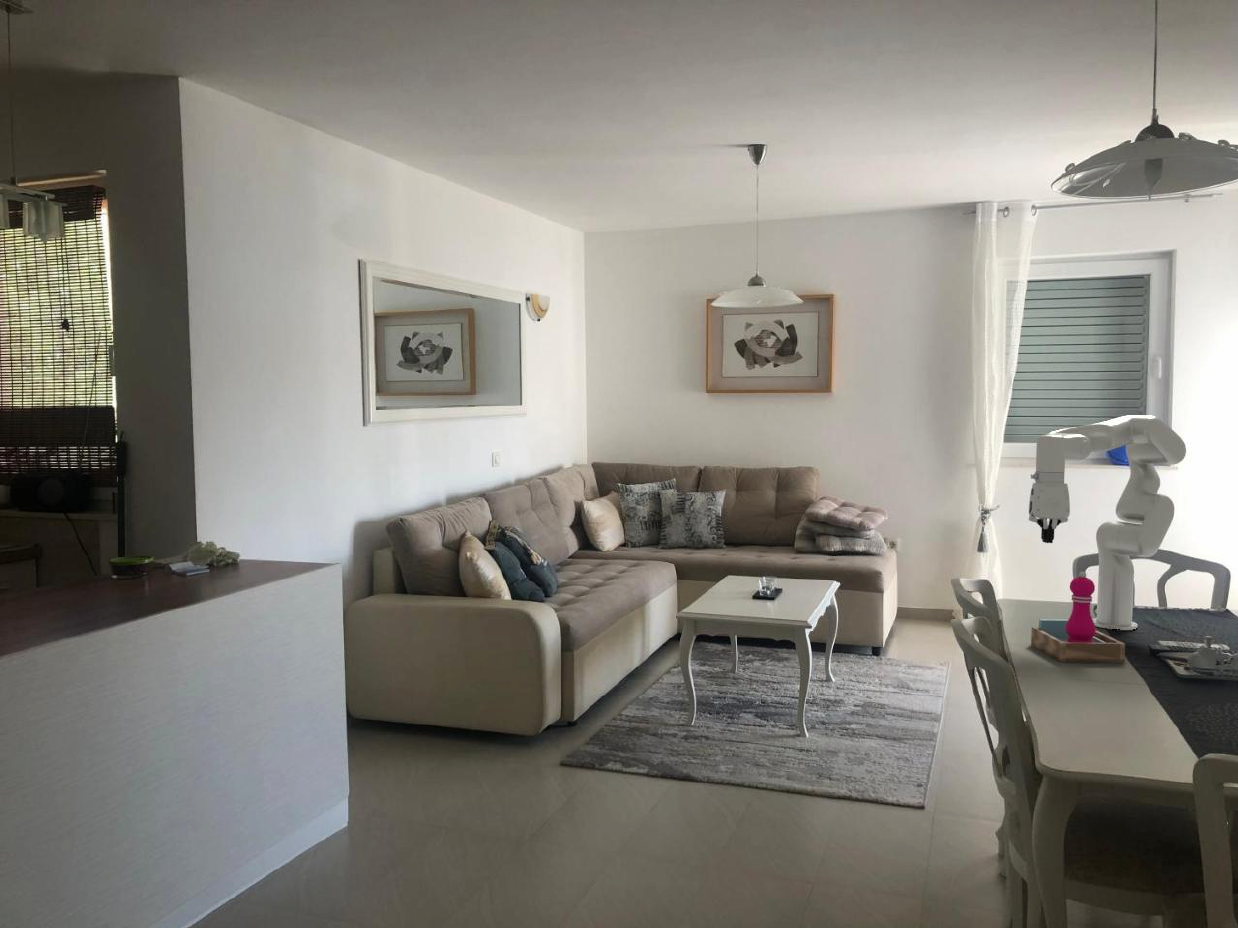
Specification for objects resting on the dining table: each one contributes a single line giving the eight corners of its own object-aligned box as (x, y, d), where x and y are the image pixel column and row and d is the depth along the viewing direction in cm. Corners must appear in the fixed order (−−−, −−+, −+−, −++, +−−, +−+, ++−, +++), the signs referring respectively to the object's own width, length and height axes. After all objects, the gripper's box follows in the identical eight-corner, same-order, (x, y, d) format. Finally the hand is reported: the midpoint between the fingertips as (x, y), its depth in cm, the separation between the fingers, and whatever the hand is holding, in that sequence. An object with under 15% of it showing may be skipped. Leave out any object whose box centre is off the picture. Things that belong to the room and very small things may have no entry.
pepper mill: (1089, 643, 264) (1092, 569, 263) (1099, 650, 257) (1102, 574, 256) (1061, 642, 265) (1063, 568, 264) (1070, 649, 258) (1073, 573, 257)
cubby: (1031, 644, 272) (1031, 627, 272) (1090, 645, 272) (1091, 627, 272) (1060, 662, 254) (1061, 643, 254) (1124, 662, 254) (1125, 643, 254)
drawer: (1038, 640, 271) (1039, 619, 271) (1086, 641, 271) (1087, 619, 271) (1064, 655, 255) (1065, 632, 255) (1115, 655, 255) (1116, 633, 255)
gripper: (1028, 479, 277) (1026, 544, 278) (1082, 479, 277) (1079, 544, 278) (1018, 477, 284) (1015, 540, 285) (1070, 477, 284) (1067, 540, 285)
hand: (1047, 542), depth 281 cm, fingers closed
